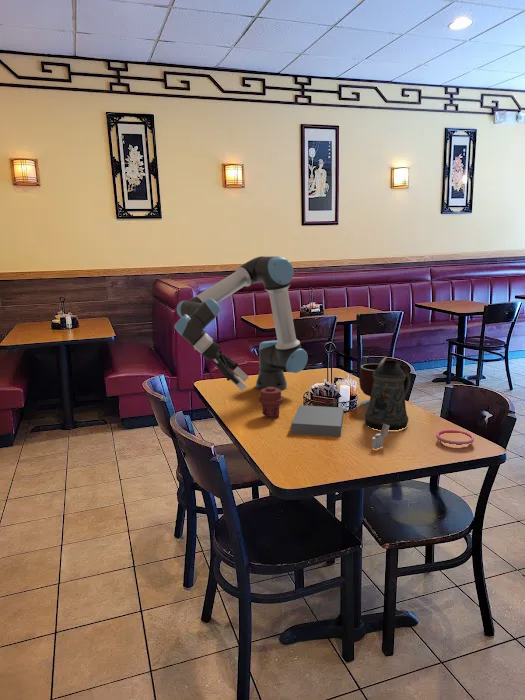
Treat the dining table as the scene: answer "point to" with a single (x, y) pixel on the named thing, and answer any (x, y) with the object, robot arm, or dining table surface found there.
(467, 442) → the pink torus ring
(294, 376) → the dining table surface
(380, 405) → the beer stein
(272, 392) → the mechanical component
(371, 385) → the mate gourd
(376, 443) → the lighter
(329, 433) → the plate
